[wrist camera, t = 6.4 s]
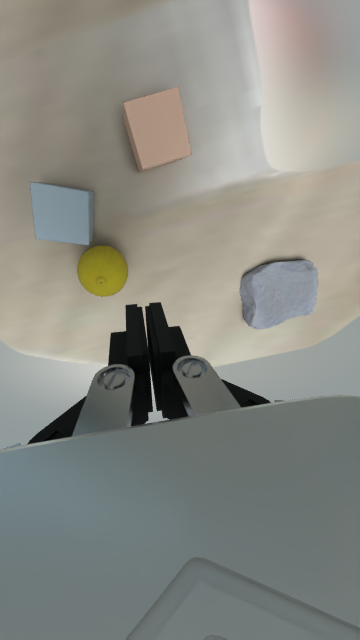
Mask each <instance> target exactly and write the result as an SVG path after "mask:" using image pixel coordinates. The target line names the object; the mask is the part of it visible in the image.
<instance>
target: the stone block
mask: <svg viewBox="0 0 360 640" xmlns="http://www.w3.org/2000/svg"><path fill="white" fill-rule="evenodd" d="M317 288H318V272H317V268H316V267H314V266H313V263H312V262H310V261H308V260H299V261H288V262H274V263H271V264H268V265H260V266H258V267H257V268H255V269H254V270H252V271H250V272H249V273H247V274H246V275H245V276H243V277H242V279H241V286H240V295H241V300H242V302H243V314H244V319H245V321H246V323H247V324H248V325H249V326H250V327H253V328H256V329H265V328H270V327H273V326H275V325H278V324H280V323H282V322H284V321H285V320H287V319H289V318H294V317H297V316H306V315H309V314H311V312H312V311H313V309H314V306H315V303H316V295H317Z"/></svg>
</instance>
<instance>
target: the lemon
mask: <svg viewBox="0 0 360 640" xmlns="http://www.w3.org/2000/svg"><path fill="white" fill-rule="evenodd" d="M77 272H78V277H79V280H80V282H81V284H82V285H83V287H84V288H85V289H86V290H87V291H89V292H90V293H92V294H94V295H97V296H111V295H113V294H115V293H117V292H118V291H120V290H121V289H122V288H123V286H124V285H125V283H126V280H127V277H128V267H127V263H126V261H125V259H124V257H123V256H122V255H121V254H120V252H118V251H117V250H116V249H114V248H112V247H109V246H104V245H100V246H94V247H92V248H90V249H88V250H87V251H85V252H84V254H83V255H82V256H81V257H80V260H79V263H78V270H77Z"/></svg>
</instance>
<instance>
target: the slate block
mask: <svg viewBox="0 0 360 640" xmlns="http://www.w3.org/2000/svg"><path fill="white" fill-rule="evenodd" d="M30 190H31V199H32V208H33V218H34V227H35V236H36V239H39V240H48V241H57V242H65V243H74V244H82V245H89V244H90V243H91V241H92V239H93V237H94V202H93V191H87V190H81V189H75V188H70V187H64V186H58V185H52V184H46V183H35V182H30Z"/></svg>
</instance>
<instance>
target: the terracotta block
mask: <svg viewBox="0 0 360 640" xmlns="http://www.w3.org/2000/svg"><path fill="white" fill-rule="evenodd" d="M123 120H124V123H125V127H126V130H127V133H128V137H129V140H130V143H131V146H132V150H133V153H134V156H135V160H136V163H137V166H138V170H139V172H142V171H145V170H148V169H152V168H155V167H158V166H161V165H165V164H168V163H171V162H174V161H177V160H181V159H183V158H185V157H187V156H189V155H191V149H190V143H189V138H188V133H187V128H186V123H185V118H184V113H183V108H182V103H181V98H180V92H179V87H175V88H172V89H168V90H165V91H161V92H158V93H154V94H151V95H148V96H144V97H141V98H137V99H134V100H131V101H127V102H124V103H123Z"/></svg>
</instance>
